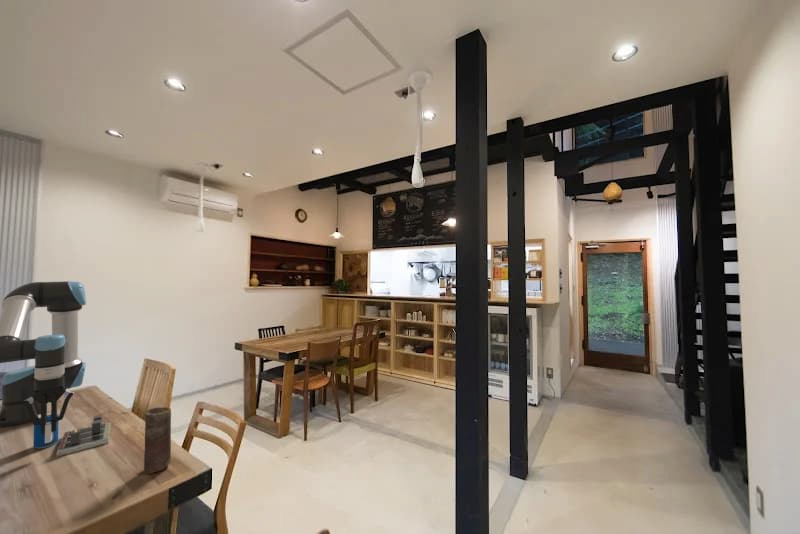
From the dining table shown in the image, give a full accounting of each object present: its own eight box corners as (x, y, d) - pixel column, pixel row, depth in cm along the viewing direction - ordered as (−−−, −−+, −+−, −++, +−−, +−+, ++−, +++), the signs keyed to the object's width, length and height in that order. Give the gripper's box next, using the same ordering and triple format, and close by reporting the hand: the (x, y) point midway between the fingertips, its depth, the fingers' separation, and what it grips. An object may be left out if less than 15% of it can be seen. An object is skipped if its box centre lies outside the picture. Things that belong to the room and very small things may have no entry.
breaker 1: (94, 425, 135) (94, 415, 135) (101, 423, 136) (102, 414, 136) (93, 428, 132) (93, 418, 132) (101, 426, 134) (101, 417, 134)
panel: (64, 437, 130) (64, 432, 130) (110, 426, 139) (110, 421, 139) (56, 456, 116) (56, 450, 116) (108, 443, 125) (108, 437, 125)
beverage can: (41, 450, 120) (42, 418, 121) (28, 448, 122) (29, 417, 122) (62, 441, 127) (63, 411, 127) (50, 440, 128) (50, 410, 128)
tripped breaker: (71, 441, 122) (72, 430, 122) (80, 438, 124) (80, 428, 124) (70, 444, 119) (70, 433, 120) (79, 442, 121) (79, 431, 121)
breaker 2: (92, 430, 130) (93, 420, 130) (100, 428, 132) (101, 419, 132) (92, 434, 128) (92, 424, 128) (100, 432, 129) (100, 422, 129)
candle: (154, 461, 113) (154, 405, 113) (175, 460, 113) (176, 404, 114) (138, 475, 105) (139, 415, 106) (161, 474, 106) (162, 414, 106)
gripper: (20, 383, 110) (18, 452, 110) (73, 375, 119) (72, 439, 118) (25, 378, 116) (24, 443, 116) (76, 371, 125) (75, 431, 124)
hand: (48, 441), depth 117 cm, fingers closed
